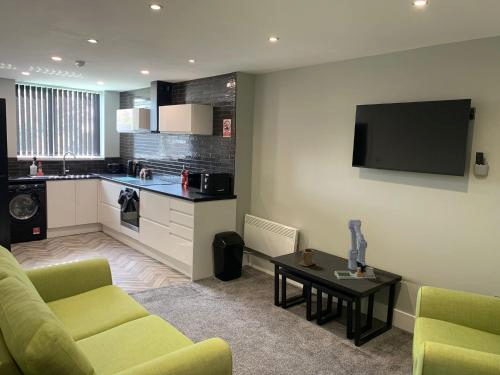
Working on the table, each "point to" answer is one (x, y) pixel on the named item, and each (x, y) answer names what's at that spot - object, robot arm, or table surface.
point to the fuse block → (363, 276)
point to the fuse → (369, 271)
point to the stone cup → (307, 257)
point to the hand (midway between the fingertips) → (360, 271)
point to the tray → (344, 276)
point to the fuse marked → (359, 272)
